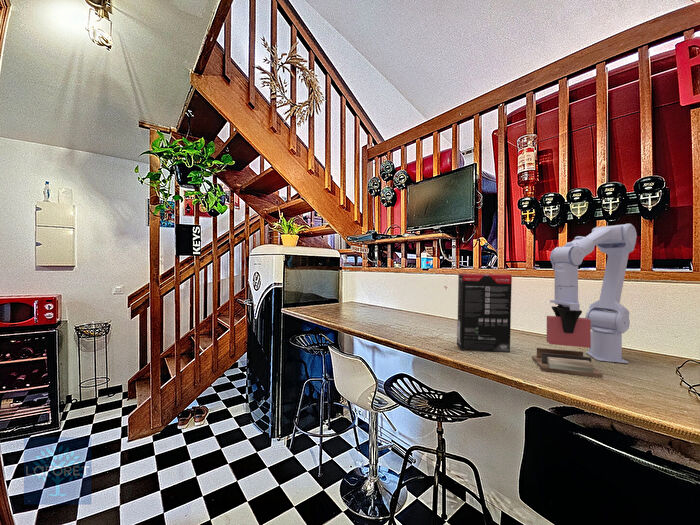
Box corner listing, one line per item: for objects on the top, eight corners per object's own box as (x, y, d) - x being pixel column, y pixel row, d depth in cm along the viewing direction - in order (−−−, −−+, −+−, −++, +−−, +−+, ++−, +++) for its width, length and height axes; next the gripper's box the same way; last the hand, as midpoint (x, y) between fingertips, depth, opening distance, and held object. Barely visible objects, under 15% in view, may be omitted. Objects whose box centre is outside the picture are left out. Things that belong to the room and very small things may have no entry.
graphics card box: (504, 347, 109) (504, 273, 109) (512, 353, 102) (512, 274, 102) (456, 346, 110) (456, 273, 110) (461, 351, 103) (461, 273, 104)
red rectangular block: (546, 341, 92) (546, 315, 92) (585, 344, 88) (585, 317, 88) (550, 344, 88) (550, 317, 88) (590, 347, 85) (590, 319, 85)
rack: (532, 358, 95) (532, 346, 96) (584, 364, 91) (584, 351, 91) (542, 371, 84) (542, 357, 84) (602, 377, 79) (602, 363, 79)
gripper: (543, 284, 97) (543, 325, 97) (558, 287, 83) (558, 335, 83) (569, 285, 94) (569, 327, 94) (588, 288, 81) (588, 337, 81)
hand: (566, 331), depth 89 cm, fingers closed on red rectangular block, 3 cm apart
